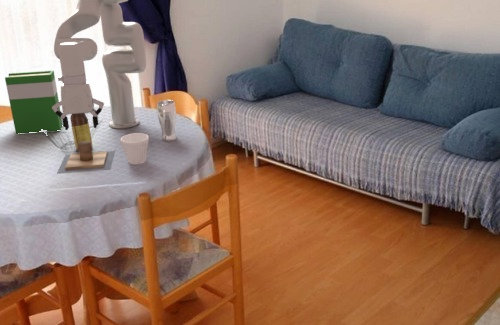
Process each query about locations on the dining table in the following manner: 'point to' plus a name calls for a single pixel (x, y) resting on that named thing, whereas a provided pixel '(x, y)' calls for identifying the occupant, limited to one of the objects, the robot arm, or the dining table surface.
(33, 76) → the hardback book
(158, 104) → the beer glass
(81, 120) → the sauce bottle
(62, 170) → the slate mat
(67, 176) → the dining table surface
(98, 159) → the oak lid
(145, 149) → the cup
